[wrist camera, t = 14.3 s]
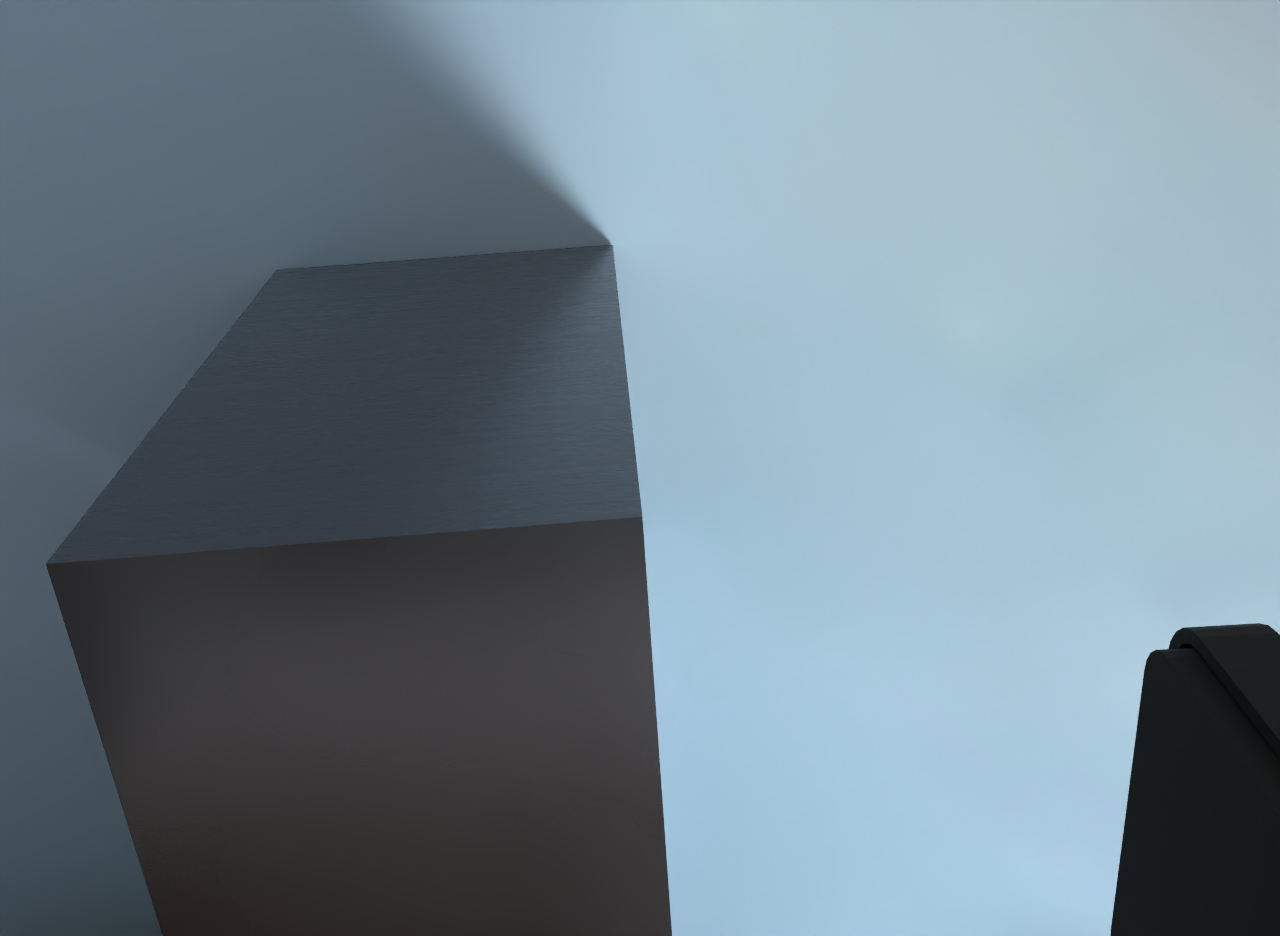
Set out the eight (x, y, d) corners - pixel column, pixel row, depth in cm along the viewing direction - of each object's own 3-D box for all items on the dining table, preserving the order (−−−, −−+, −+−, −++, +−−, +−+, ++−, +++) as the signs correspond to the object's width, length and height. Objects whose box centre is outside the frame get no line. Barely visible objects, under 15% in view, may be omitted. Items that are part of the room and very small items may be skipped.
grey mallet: (612, 245, 15) (642, 515, 8) (670, 1015, 20) (713, 1531, 14) (276, 270, 14) (46, 563, 8) (427, 1036, 20) (360, 1565, 14)
